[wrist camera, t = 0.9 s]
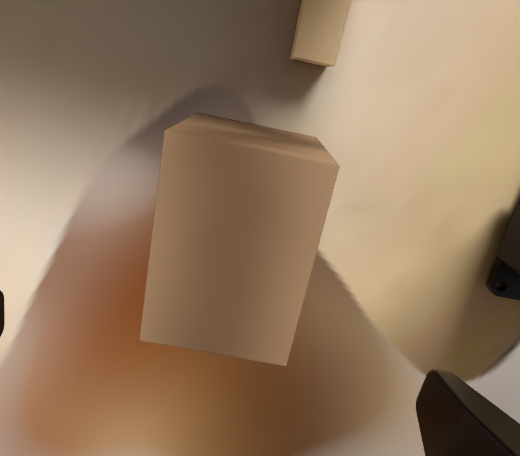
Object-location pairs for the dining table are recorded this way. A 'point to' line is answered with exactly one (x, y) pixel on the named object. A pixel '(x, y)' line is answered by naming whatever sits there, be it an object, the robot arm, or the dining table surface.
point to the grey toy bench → (319, 31)
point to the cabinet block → (234, 237)
